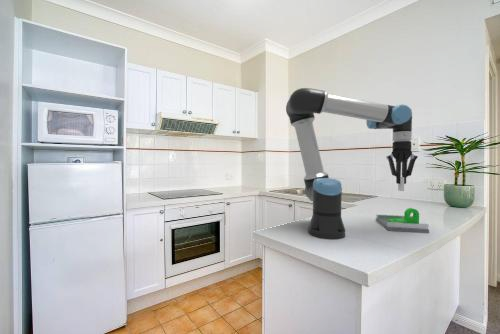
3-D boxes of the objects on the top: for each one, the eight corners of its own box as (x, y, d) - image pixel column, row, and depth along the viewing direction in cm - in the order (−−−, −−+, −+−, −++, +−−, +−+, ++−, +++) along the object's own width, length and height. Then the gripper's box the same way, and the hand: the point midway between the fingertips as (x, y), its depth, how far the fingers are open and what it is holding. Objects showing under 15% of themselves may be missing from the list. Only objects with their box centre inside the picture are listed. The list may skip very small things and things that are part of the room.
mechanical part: (409, 222, 114) (410, 206, 114) (418, 226, 108) (419, 208, 108) (385, 222, 114) (385, 206, 114) (392, 226, 108) (393, 208, 108)
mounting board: (388, 230, 106) (388, 227, 106) (375, 220, 123) (375, 217, 123) (429, 233, 103) (429, 229, 103) (409, 222, 120) (409, 219, 120)
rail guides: (388, 227, 107) (388, 222, 106) (376, 218, 123) (376, 214, 123) (428, 229, 103) (428, 224, 103) (410, 219, 119) (410, 216, 119)
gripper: (389, 140, 110) (389, 191, 110) (421, 140, 107) (420, 192, 108) (384, 142, 117) (383, 189, 118) (413, 141, 114) (412, 190, 115)
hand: (401, 190), depth 113 cm, fingers closed
